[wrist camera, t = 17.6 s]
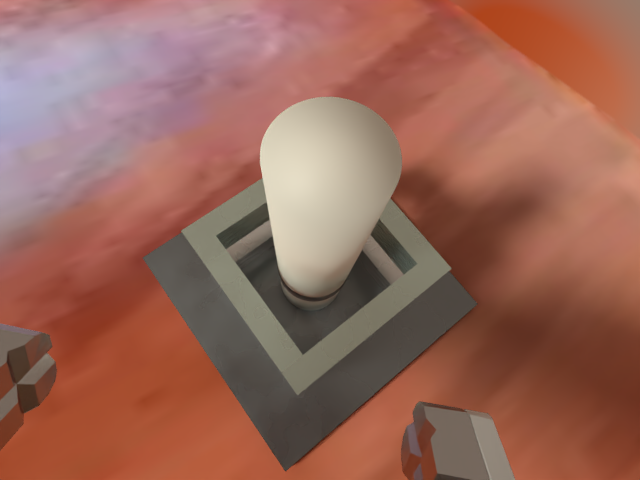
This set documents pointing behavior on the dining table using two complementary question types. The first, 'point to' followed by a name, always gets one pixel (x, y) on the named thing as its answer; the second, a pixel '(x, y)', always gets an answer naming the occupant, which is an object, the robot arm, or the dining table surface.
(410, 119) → the dining table surface
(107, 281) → the dining table surface
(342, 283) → the cream tall rounded cylinder
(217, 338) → the collar holder
